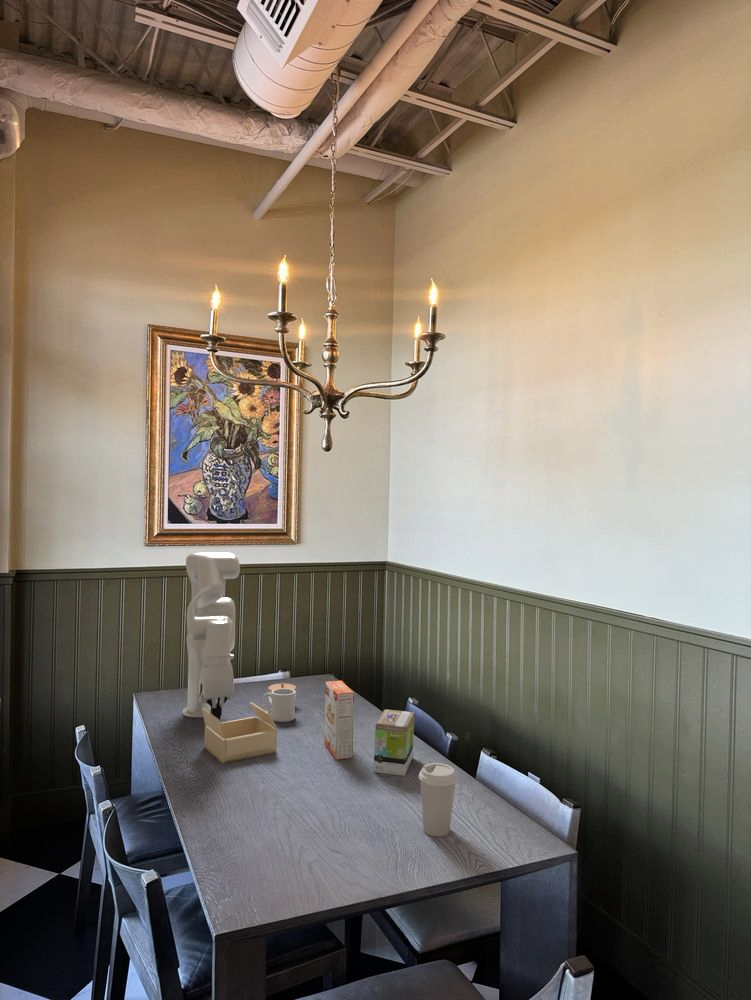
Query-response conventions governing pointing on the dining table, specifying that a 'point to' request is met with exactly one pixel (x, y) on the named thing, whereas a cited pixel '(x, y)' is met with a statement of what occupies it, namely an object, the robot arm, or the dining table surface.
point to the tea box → (394, 742)
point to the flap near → (212, 722)
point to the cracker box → (339, 719)
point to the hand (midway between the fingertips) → (215, 719)
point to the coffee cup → (437, 797)
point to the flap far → (263, 714)
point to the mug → (281, 704)
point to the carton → (241, 739)
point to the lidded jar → (282, 685)
